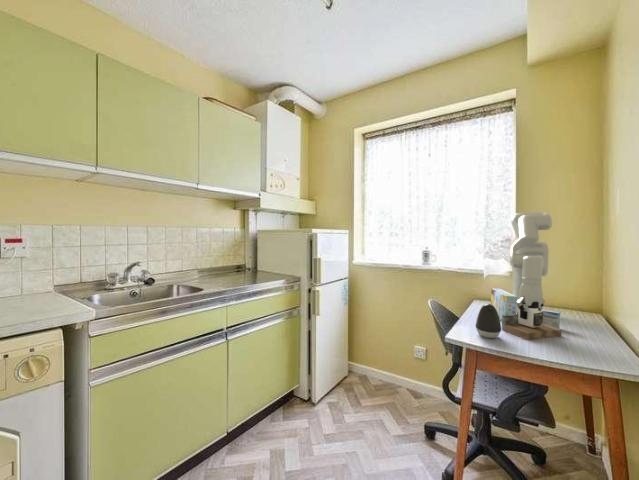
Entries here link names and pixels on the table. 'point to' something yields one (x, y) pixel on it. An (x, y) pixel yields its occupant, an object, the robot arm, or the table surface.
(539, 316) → the medicine bottle
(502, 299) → the snack box
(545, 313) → the medicine box
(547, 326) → the brown piece
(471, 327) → the table surface
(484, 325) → the dark egg-shaped spouted container
